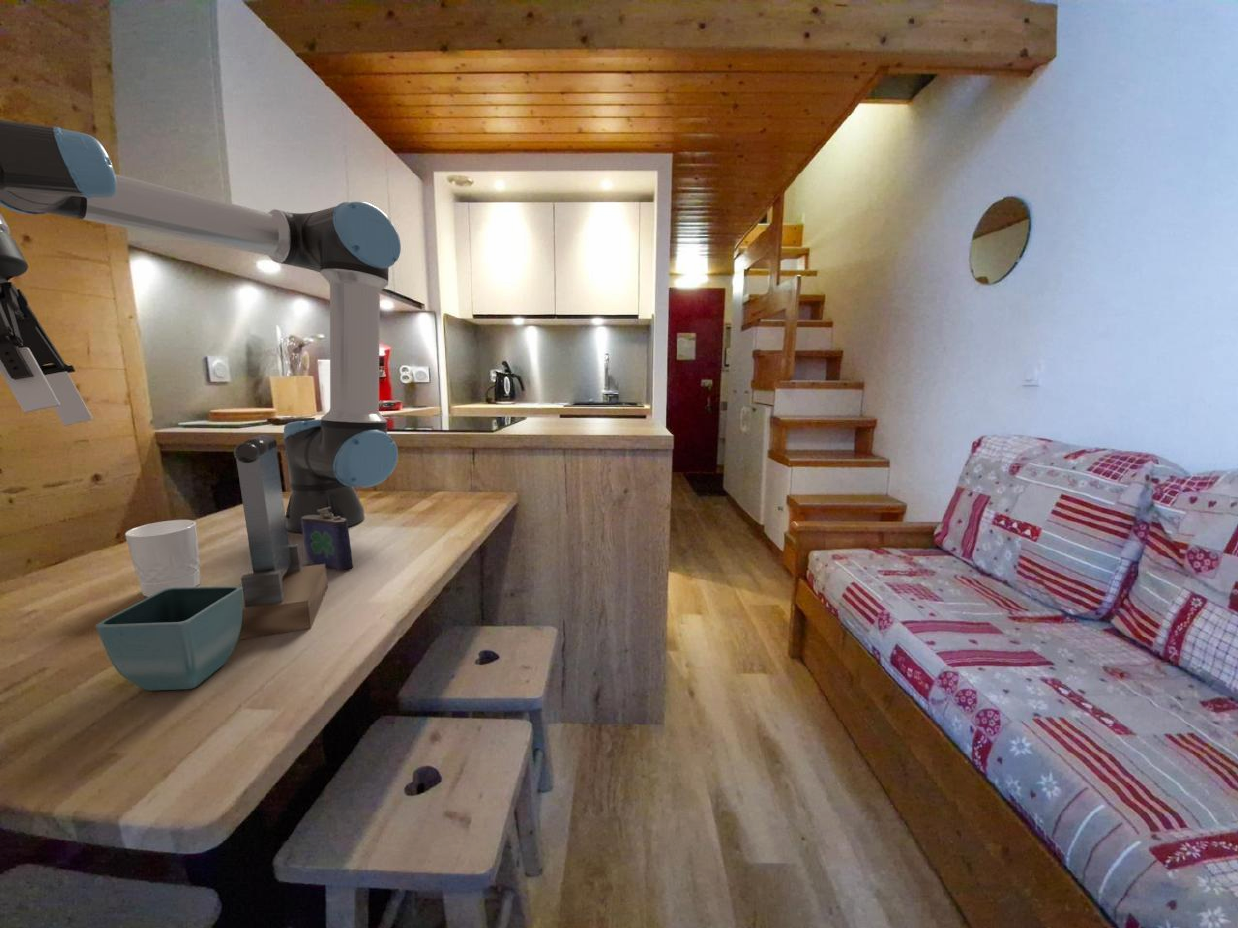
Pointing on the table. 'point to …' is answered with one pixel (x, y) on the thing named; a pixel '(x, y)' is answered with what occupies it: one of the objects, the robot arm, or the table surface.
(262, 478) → the lever
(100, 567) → the table surface
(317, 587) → the base
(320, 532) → the flask
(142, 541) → the white cup
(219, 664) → the flower pot
